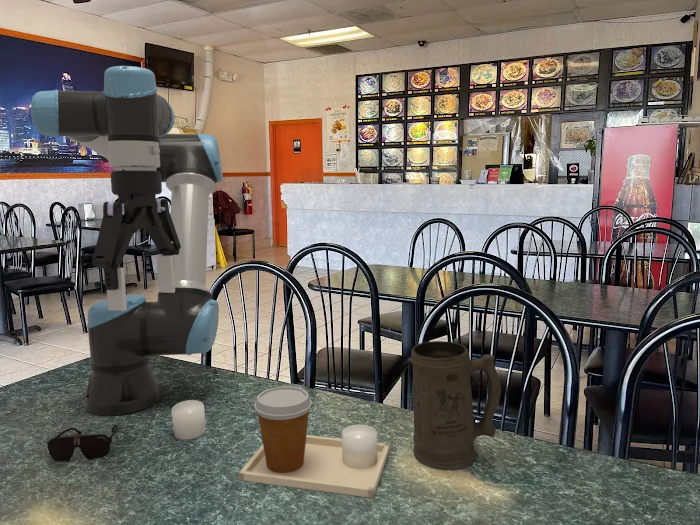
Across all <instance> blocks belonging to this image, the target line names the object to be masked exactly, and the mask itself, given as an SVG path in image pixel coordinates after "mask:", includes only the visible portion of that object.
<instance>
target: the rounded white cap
mask: <svg viewBox="0 0 700 525" xmlns="http://www.w3.org/2000/svg"><path fill="white" fill-rule="evenodd" d="M205 412H206V411H205V404H204V403H203V402H202V401H199V400H197V399H189V400H183V401H180V402H178V403H175V405H173V406H172V408H171V421H172V429H173V436H174V437H175V438H176V439H178V440H182V441H189V440H194V439H198V438H200V437H201V436H202V435H204V434H205V432H206V431H207V426H206V425H207V424H206V414H205Z"/></svg>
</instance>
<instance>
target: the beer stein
mask: <svg viewBox="0 0 700 525" xmlns="http://www.w3.org/2000/svg"><path fill="white" fill-rule="evenodd" d="M410 353H411V354H410V356H409V359H410V362H411V365H412V386H413V387H412V388H413V390H412V391H413V439H412V440H413V455H414V458H415V459H416V461H418V462H419V464H422V465H423V466H425V467H428V468H431V469H434V470H440V471H457V470H462V469H465V468H467V467H469V466H471V465H472V464H473V463H474V461H475V458H476V451H475V444H474V442H475V440H476V439H477V437H480V436H486V437H491V438H494V437H495V434H496V427H495V425H494V424H493V419H494V416H495V413H496V411H497V408H498V406H499V403H500V400H501V399H500V398H501V393H502V388H501V387H502V386H501V384H502V383H501V380H500V376H499V374H498V371H497V369H496V366H495V356H494V355H492V354H483V355H482V356H481V357H480V358H476V359H473V360H471V356H470V354H469V350H468V348H467V347H466V346H465V345H464V344H462V343H458V342H454V341H443V340H441V341H440V340H435V341H431V340H430V341H423V342H421V343H417V344H415V345H414V346H412V349H411V351H410ZM477 371H479V372H480V371H481V372H483V373H484V374H485V376H486V379H487V388H488V389H487V390H488V391H487V396H486V397H487V398H486V404H485V407H484V411H483V414H482V416H481V419H480V421H479V422H478V423H474V412H473V411H474V410H473V409H474V408H473V397H472V396H473V395H472V394H473V393H472V383H471V382H472V381H471V377H472V375H473V374H474V373H475V372H477Z"/></svg>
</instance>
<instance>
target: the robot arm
mask: <svg viewBox="0 0 700 525" xmlns="http://www.w3.org/2000/svg"><path fill="white" fill-rule="evenodd" d="M103 77H104V78H103V79H104V80H103V82H104V83H103V91H102V90H100V91H97V90H93V91H92V90H88V91H87V90H59V89H54V90H43V91H42V90H41V91H38V92H35V94H34V95H33V96H32V98H31V103H30V114H31V119H32V122H33V125H34V127H35V129H36V130H37V132H38V133H40V134H41V135H42V136H47V137H48V136H49V137H56V138H60V137H68V138H70V139H72V140H74V141H75V142H77V143H79V144H81V145H83V146H84V147H86V148H88V149H89V150H91V151H93V152H94V153H96V154H98V155H100V156H101V157H104V158H105V159H107V160H106V161H107V162H108V163H109V167H111V168H113V171H111V172H110V173H109V175H110V184H111V185H110V188H111V193H112V195H114V196H117V201H104V202H103V204H102V205H103V206H102V212H103V213H102V219H101V223H100V226H99V227H100V229H99V231H98V232H99V233H98V235H97V239H96V240H97V241H96V244H95V248H94V251H93V256H92V260H91V263H92V266H94V267H95V266H96V267H97V268H98V269H103V276H104V277H103V278H104V288H105V290H106V298H107V299H103V300H101V301H100V300H99V301H97V302H95V303H94V304H92V305H90V307H89V308H88V310H87V325H86V328H87V332H88V342H89V354H90V356H89V357H90V365H91V367H90V368H91V373H90V377H89V381H88V385H87V387H86V388H87V389H86V391H85V392H86V393H85V396H84V404H85V406H84V407H85V410H86V411H87V412H88V413H91V414H93V415H97V416H120V415H128V414H132V413H135V412H138V411H142V410H145V409H147V408H149V407H151V406H153V405H155V404H156V403H157V402H158V401H159V400H160V386H159V384H158V383H157V380H156V378H155V376H154V372H153V370H152V367H151V365H150V357H151V356H154V357H155V356H174V355H175V356H179V355H187V356H191V355H197V354H198V355H199V354H206V353H207V352H209V351H210V350H212V347H213V346H214V344H215V341H216V338H217V333H218V328H219V327H218V326H219V318H220V316H219V314H220V313H219V312H220V307H219V306H220V305H219V302H218V301H217V300H215V299H213V293H212V292H211V291H210V289H208V287H206V282H207V281H206V279H207V278H206V276H207V254H208V253H207V252H208V232H209V231H208V229H209V227H208V226H209V205H210V204H209V202H210V200H209V199H210V195H212V194H213V193H214V192H215V191H216V185H217V184H219V183H221V182H223V178H224V177H223V175H224V174H223V168H222V167H223V166H222V162H221V161H222V159H221V155H220V148H219V145H218V140H217V138H216V136H214V135H212V134H210V133H209V134H208V133H207V134H205V133H199V132H196V133H193V134H192V133H170V132H171V130H172V129H173V127H174V124H175V118H176V117H175V112H174V110H173V107H172V105H171V104H169V102H168V100H167V99H166V98H164V97H163V96H161V95H160V94H157V93H158V92H157V91H158V87H157V82H156V75H155V73H154V72H153V71H152V70H151V69H148V68H144V67H139V66H132V65H129V66H128V65H116V66H111V67H109V68H107V69H105V71H104V75H103ZM162 183H165V186H166V188H167V190H169V191H170V192H171V200H170V207H169V201H168V199H167V198H157V196H156V195H161V194H162V192H163V188H162V187H163V186H162V185H163V184H162ZM141 229H144V230H145V231H146V233H147V234H148V236H149V238H150V240H152V242H153V244H154V246H155V248H156V249H157V250H158V252H159V254H160V255H156V261H157V262H156V264H157V279H158V280H157V281H158V292H157V299H156V300H157V301H147V298H146V296H145V295H144V294H142V293H141V294H140V293H139V294H137V293H133V294H127V293H126V279H125V267H120V266H121V264H122V261H123V259H124V257H125V255H126V253H127V251H128V248H129V245H130V243H131V242H132V241H131V240H132V239H133V236H134V234H135V233H137V231H138V230H141ZM149 356H150V357H149Z"/></svg>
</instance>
